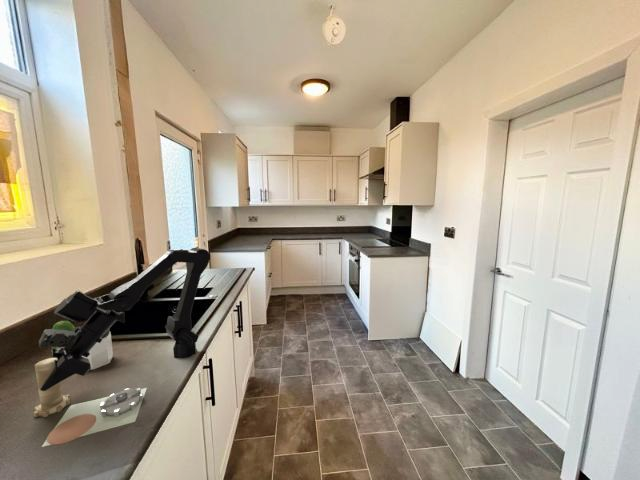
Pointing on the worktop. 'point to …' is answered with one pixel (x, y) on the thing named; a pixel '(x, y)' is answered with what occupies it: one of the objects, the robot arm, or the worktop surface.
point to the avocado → (63, 327)
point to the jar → (101, 352)
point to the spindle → (49, 390)
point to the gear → (121, 402)
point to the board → (87, 421)
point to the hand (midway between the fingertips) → (41, 386)
